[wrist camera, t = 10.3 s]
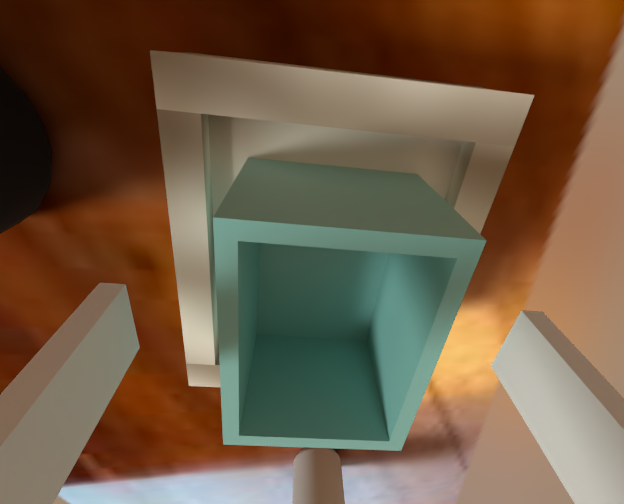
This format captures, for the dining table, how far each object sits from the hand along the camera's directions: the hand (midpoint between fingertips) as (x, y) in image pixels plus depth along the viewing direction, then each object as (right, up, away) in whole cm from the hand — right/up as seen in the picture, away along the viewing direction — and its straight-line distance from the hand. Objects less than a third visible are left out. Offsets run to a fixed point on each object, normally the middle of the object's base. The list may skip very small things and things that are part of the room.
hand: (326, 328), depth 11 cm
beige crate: (0, +5, +10) cm, 11 cm away
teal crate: (0, +2, +5) cm, 5 cm away
